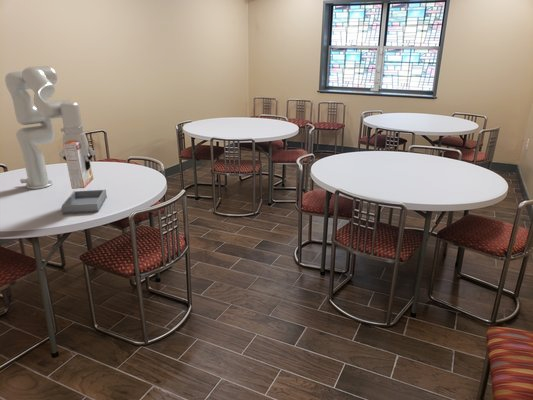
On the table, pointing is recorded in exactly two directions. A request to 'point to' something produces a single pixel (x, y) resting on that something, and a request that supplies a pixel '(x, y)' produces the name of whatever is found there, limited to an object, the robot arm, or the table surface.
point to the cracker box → (77, 165)
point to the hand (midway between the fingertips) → (80, 169)
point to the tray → (84, 201)
